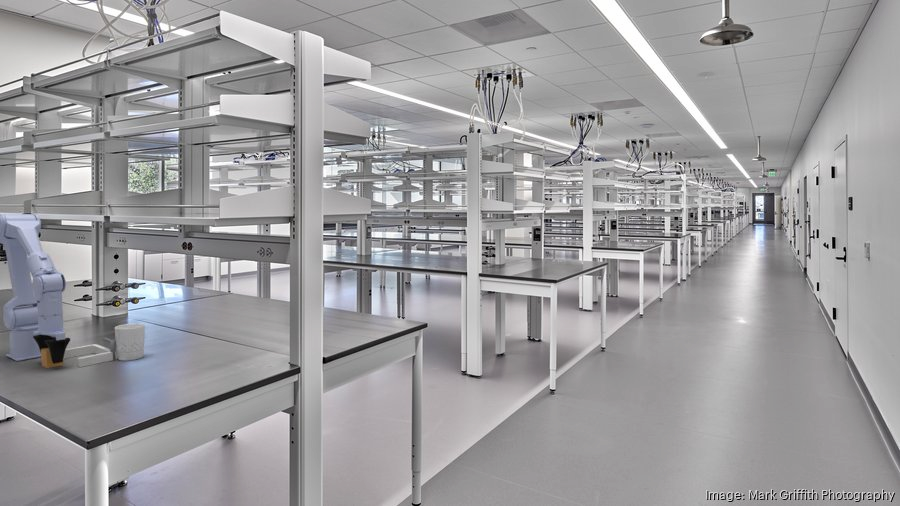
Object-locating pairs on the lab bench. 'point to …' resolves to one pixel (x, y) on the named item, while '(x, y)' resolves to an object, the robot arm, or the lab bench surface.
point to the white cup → (130, 341)
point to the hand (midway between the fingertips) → (52, 360)
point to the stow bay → (101, 352)
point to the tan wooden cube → (48, 359)
